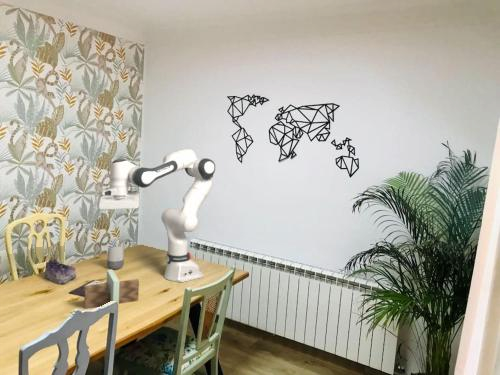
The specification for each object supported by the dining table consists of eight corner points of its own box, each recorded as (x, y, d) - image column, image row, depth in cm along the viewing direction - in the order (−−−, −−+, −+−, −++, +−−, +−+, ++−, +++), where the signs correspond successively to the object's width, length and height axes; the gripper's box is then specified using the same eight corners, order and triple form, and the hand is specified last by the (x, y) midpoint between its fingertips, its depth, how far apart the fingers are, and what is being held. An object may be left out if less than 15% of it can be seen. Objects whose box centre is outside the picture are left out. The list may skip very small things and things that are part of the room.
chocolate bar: (68, 292, 186) (93, 280, 203) (68, 294, 186) (93, 281, 203) (84, 295, 184) (107, 283, 201) (84, 297, 184) (107, 284, 201)
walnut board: (136, 298, 186) (137, 279, 185) (138, 300, 184) (138, 281, 183) (84, 306, 174) (84, 286, 172) (85, 309, 171) (85, 288, 170)
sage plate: (106, 297, 185) (106, 269, 183) (111, 296, 186) (112, 269, 184) (112, 311, 171) (113, 281, 169) (118, 310, 173) (119, 281, 171)
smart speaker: (120, 264, 231) (121, 242, 229) (125, 269, 224) (126, 246, 222) (104, 266, 225) (105, 244, 223) (109, 271, 218) (110, 248, 216)
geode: (34, 278, 202) (36, 259, 202) (54, 274, 212) (56, 257, 212) (59, 285, 192) (61, 266, 193) (79, 282, 203) (81, 263, 203)
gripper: (137, 189, 200) (136, 215, 202) (96, 190, 189) (96, 217, 191) (141, 191, 195) (140, 217, 196) (98, 192, 184) (98, 219, 186)
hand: (118, 217), depth 194 cm, fingers open, 8 cm apart
